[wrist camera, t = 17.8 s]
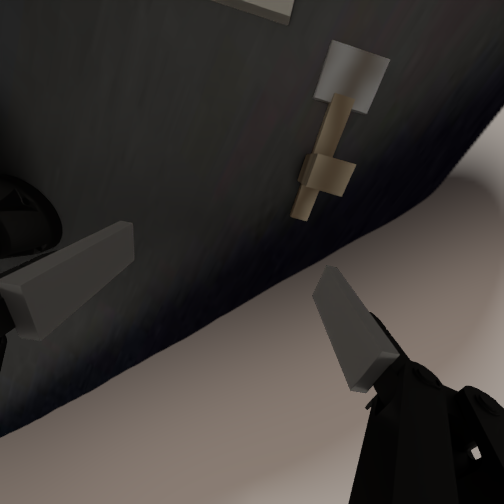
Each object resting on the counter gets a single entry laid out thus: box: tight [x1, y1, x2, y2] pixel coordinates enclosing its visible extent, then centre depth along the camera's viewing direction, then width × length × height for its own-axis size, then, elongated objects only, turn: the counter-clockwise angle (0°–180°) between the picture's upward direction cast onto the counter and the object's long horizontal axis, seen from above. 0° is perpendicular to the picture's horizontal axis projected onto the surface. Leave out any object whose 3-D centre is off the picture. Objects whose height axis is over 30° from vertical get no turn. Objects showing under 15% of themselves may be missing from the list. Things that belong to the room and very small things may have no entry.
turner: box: [290, 40, 390, 221], centre depth 27 cm, size 8×23×8 cm, turn 166°
